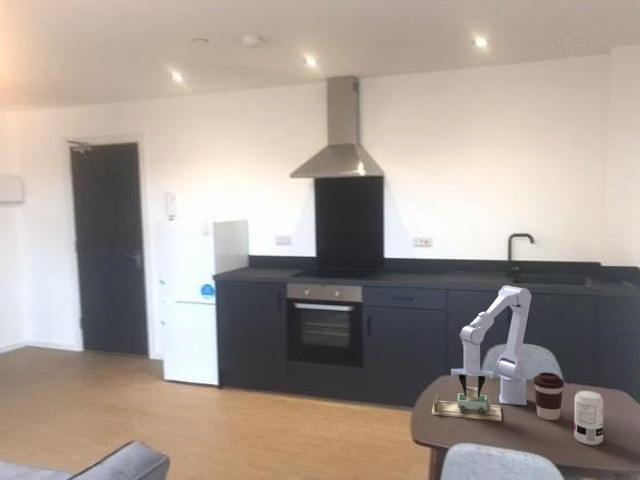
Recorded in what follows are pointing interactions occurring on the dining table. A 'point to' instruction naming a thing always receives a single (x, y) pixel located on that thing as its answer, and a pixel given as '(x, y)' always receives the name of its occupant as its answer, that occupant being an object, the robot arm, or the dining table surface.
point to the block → (471, 394)
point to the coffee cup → (548, 395)
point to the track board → (453, 410)
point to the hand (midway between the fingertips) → (472, 395)
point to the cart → (474, 403)
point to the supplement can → (588, 417)
